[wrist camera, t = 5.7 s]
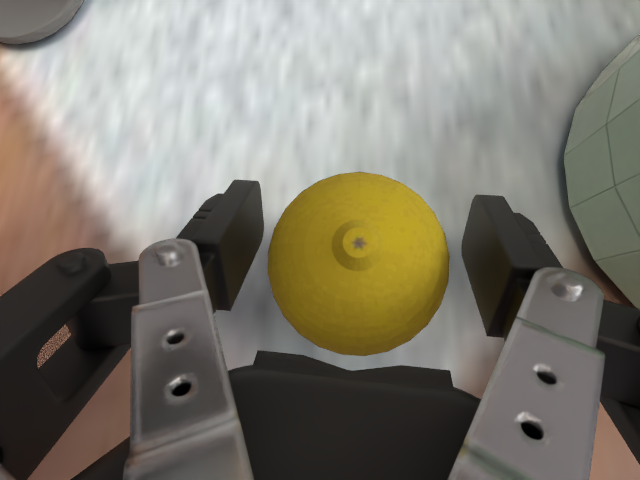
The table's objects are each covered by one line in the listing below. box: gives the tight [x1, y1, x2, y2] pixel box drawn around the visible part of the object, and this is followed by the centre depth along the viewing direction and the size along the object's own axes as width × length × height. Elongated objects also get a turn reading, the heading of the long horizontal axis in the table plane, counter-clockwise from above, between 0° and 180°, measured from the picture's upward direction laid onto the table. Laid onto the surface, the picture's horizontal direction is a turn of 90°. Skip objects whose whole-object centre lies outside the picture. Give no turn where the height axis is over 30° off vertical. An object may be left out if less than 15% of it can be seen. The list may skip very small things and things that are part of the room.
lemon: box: [268, 172, 450, 356], centre depth 12 cm, size 6×6×8 cm
